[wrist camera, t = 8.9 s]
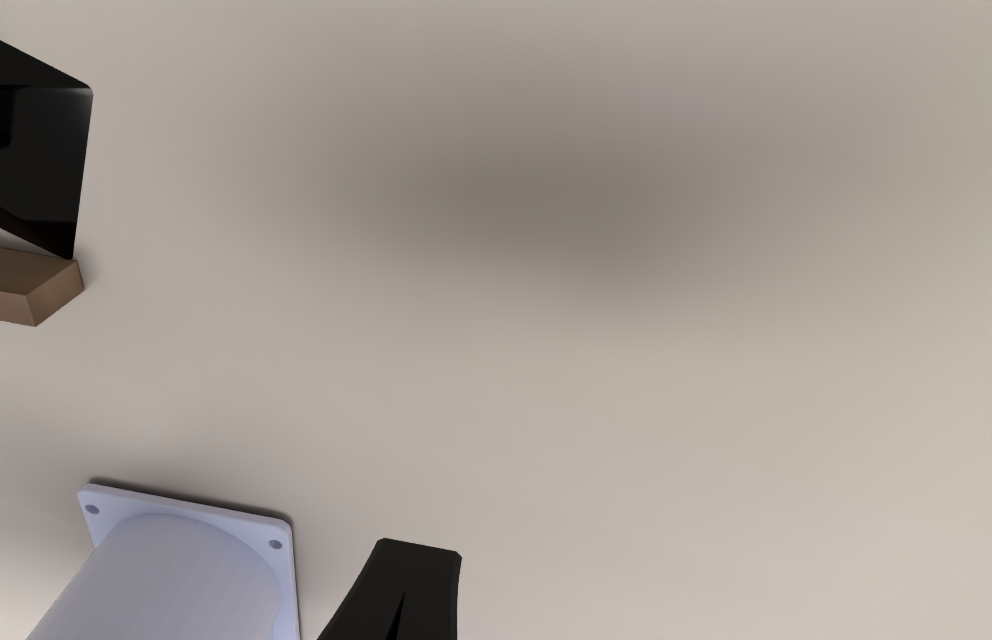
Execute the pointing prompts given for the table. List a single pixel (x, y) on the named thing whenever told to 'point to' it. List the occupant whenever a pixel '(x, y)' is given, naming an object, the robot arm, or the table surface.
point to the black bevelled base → (41, 150)
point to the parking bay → (35, 286)
